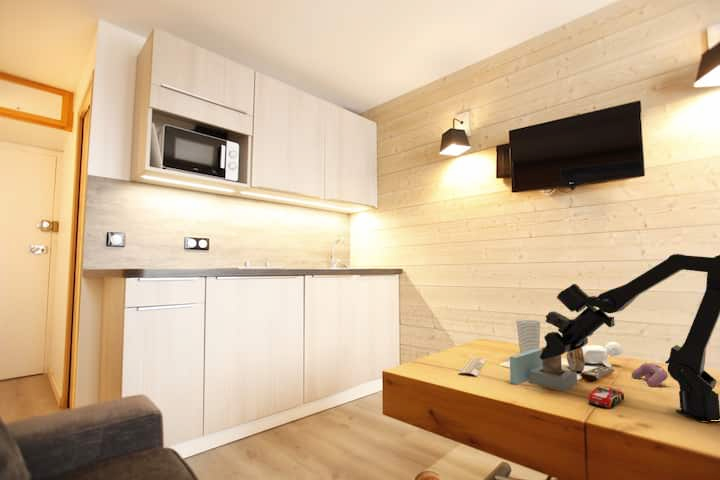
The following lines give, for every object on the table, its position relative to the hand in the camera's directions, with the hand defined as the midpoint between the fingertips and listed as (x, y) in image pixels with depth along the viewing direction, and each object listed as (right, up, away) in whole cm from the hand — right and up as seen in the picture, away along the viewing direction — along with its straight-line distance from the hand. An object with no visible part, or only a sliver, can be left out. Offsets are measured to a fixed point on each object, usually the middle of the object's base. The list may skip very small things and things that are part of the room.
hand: (547, 356), depth 111 cm
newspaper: (-17, -10, +16) cm, 26 cm away
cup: (+6, -10, +24) cm, 26 cm away
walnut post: (+1, -7, -2) cm, 7 cm away
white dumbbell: (+30, -10, +21) cm, 38 cm away
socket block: (+1, -8, -2) cm, 8 cm away
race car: (+7, -7, -17) cm, 20 cm away
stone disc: (+17, -9, +12) cm, 23 cm away
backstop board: (-4, -8, +4) cm, 10 cm away
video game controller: (+32, -8, -1) cm, 33 cm away
